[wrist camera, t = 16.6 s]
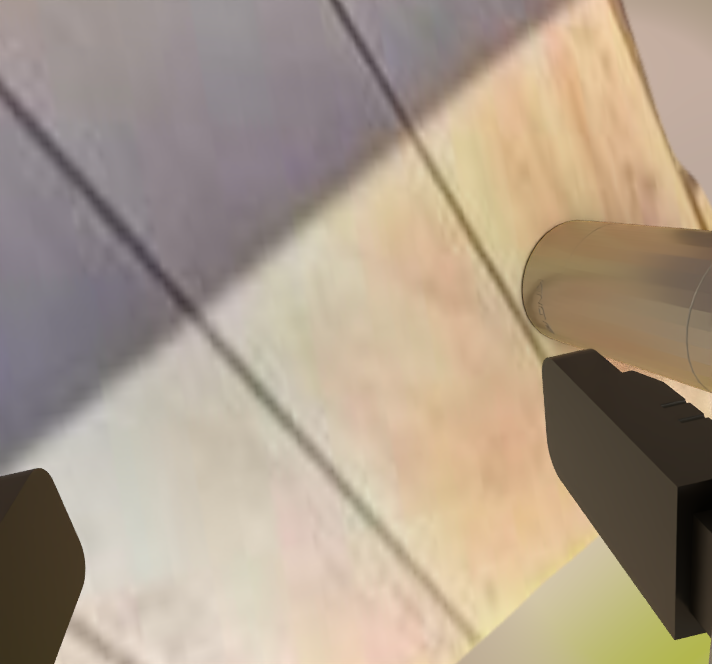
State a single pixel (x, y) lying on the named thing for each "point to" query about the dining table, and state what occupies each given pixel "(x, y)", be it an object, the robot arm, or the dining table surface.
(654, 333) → the robot arm
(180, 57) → the dining table surface
